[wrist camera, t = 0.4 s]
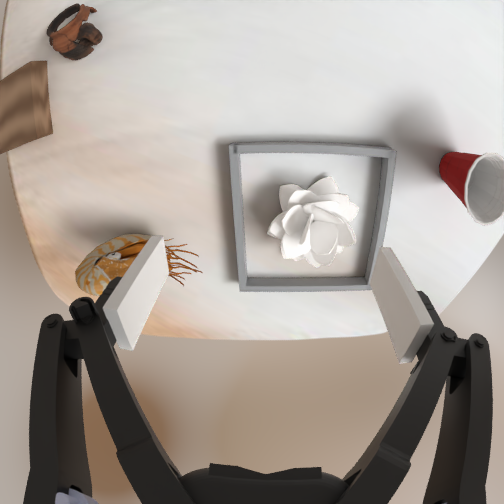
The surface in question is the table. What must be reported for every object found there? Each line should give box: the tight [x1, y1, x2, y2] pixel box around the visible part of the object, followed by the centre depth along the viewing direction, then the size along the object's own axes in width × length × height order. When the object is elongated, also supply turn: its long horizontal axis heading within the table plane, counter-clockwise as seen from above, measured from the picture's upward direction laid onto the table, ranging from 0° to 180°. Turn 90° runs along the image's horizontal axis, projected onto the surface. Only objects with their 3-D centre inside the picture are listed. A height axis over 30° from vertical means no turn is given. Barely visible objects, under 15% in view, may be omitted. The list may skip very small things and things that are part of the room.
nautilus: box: [75, 234, 203, 296], centre depth 43 cm, size 8×22×15 cm, turn 89°
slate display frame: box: [229, 142, 396, 292], centre depth 44 cm, size 25×24×2 cm
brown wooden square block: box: [0, 61, 53, 154], centre depth 34 cm, size 15×15×5 cm
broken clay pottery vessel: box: [47, 4, 102, 60], centre depth 27 cm, size 12×9×8 cm
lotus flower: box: [267, 176, 359, 268], centre depth 42 cm, size 14×15×9 cm
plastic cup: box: [439, 152, 504, 226], centre depth 33 cm, size 11×11×12 cm
